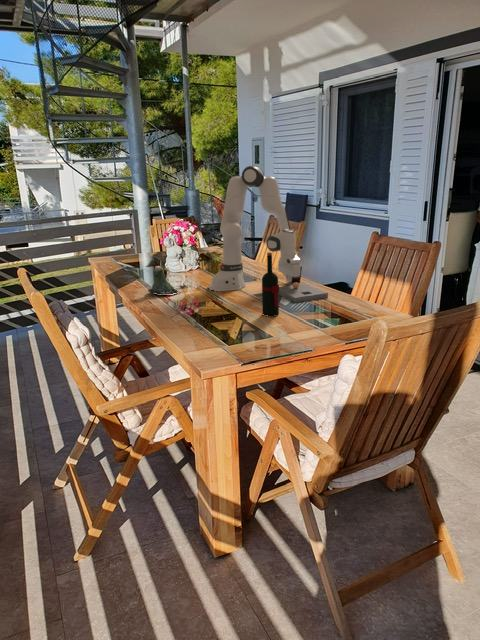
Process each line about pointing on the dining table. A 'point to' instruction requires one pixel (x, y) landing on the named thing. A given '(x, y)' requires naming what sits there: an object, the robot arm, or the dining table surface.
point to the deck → (302, 293)
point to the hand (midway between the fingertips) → (289, 281)
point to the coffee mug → (296, 279)
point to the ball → (295, 285)
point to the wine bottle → (270, 290)
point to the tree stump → (161, 283)
